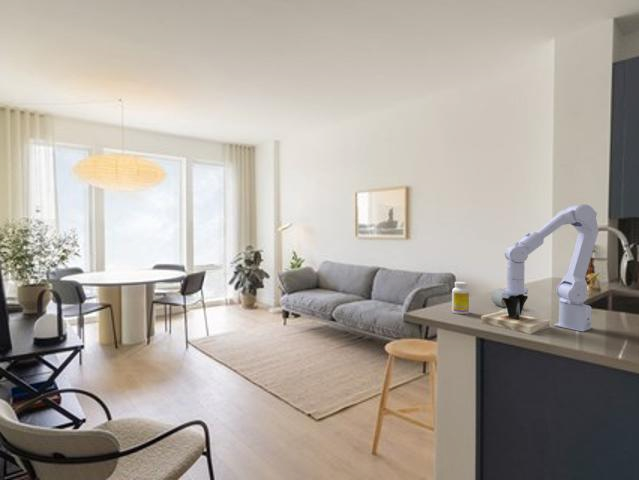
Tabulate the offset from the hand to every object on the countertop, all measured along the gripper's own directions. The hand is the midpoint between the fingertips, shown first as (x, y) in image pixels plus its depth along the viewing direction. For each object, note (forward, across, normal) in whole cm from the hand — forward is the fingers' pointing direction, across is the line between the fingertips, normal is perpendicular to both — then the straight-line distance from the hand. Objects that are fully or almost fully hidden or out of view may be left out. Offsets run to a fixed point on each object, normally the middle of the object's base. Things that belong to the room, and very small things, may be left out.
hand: (514, 315), depth 138 cm
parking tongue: (+4, -12, -8) cm, 15 cm away
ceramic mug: (+4, -27, -18) cm, 33 cm away
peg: (+1, 0, 0) cm, 1 cm away
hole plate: (+4, 0, 0) cm, 4 cm away
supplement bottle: (+4, 0, -23) cm, 23 cm away
